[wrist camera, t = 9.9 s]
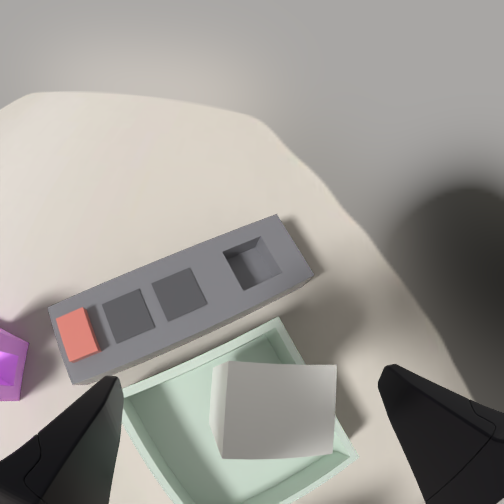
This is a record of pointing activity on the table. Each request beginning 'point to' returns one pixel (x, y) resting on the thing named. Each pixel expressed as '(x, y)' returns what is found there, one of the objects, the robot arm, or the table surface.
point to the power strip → (176, 299)
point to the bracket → (11, 365)
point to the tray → (201, 437)
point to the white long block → (273, 410)
